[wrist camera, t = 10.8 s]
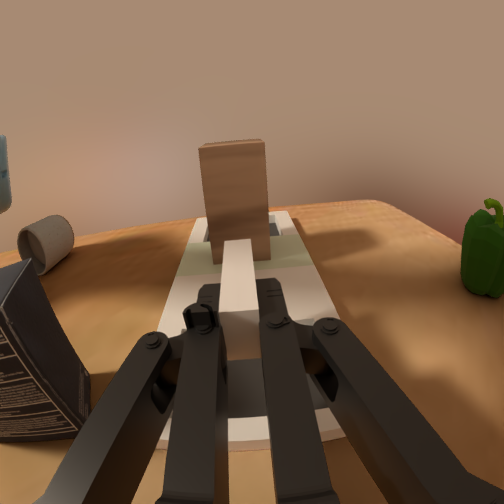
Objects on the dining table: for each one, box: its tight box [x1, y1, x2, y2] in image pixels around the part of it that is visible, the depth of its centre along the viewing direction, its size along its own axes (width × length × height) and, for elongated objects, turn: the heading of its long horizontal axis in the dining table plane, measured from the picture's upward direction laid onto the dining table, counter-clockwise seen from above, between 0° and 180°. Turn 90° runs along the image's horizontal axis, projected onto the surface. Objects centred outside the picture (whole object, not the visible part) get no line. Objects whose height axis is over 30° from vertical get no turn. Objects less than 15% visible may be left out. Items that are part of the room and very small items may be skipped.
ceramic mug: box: [17, 215, 74, 275], centre depth 35 cm, size 11×8×8 cm
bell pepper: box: [461, 198, 504, 298], centre depth 21 cm, size 8×8×10 cm
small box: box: [0, 258, 91, 442], centre depth 11 cm, size 11×6×10 cm, turn 115°
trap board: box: [156, 211, 346, 451], centre depth 28 cm, size 35×14×2 cm, turn 3°
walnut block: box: [198, 139, 271, 265], centre depth 29 cm, size 6×6×12 cm
